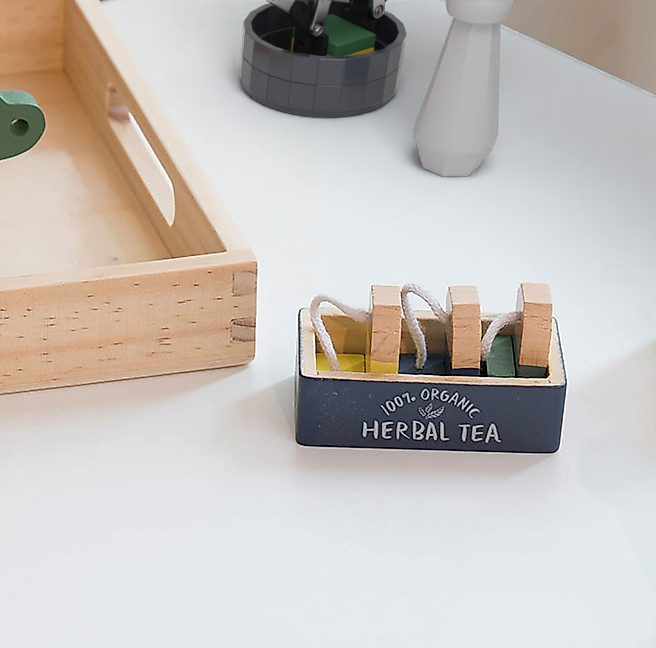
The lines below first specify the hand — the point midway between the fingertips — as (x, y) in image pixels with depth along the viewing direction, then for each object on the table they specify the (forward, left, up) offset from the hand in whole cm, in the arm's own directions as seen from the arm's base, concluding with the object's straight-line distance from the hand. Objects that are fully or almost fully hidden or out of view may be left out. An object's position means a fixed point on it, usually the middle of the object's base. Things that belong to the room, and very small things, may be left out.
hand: (330, 70), depth 119 cm
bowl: (+1, 0, -1) cm, 1 cm away
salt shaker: (+2, +15, -1) cm, 16 cm away
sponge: (0, 0, 0) cm, 0 cm away
